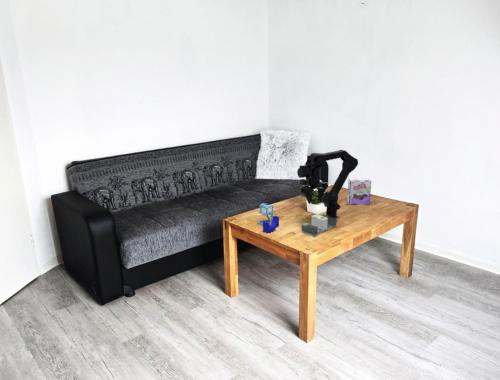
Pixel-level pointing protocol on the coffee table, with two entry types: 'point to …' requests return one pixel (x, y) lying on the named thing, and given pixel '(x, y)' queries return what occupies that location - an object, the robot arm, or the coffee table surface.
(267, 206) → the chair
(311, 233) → the rail
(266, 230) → the cable clip
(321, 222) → the module
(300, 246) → the coffee table surface
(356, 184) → the candy box
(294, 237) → the coffee table surface
